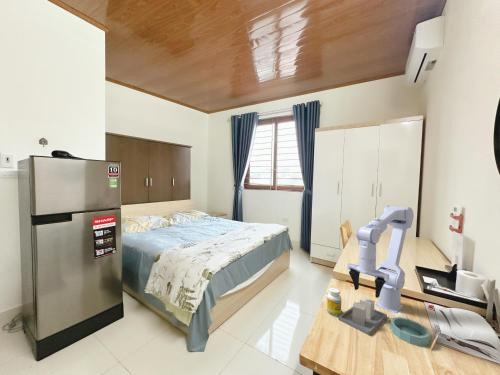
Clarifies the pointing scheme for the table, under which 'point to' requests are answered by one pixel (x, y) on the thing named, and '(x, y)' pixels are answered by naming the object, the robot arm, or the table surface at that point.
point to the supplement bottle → (334, 302)
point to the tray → (369, 324)
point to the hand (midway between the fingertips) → (366, 292)
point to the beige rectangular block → (368, 306)
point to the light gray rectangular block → (359, 314)
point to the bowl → (410, 331)
